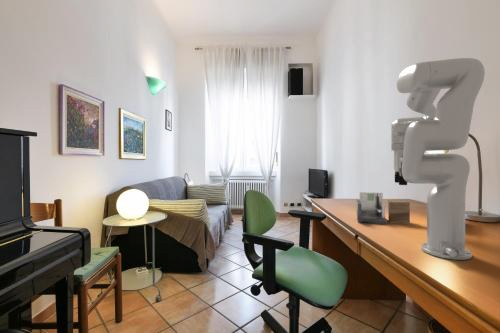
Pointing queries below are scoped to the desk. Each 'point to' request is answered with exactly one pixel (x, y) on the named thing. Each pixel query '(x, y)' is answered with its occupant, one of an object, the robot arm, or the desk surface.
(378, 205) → the dark flat plank
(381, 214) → the plate
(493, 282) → the desk surface
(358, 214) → the stand
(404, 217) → the push block
